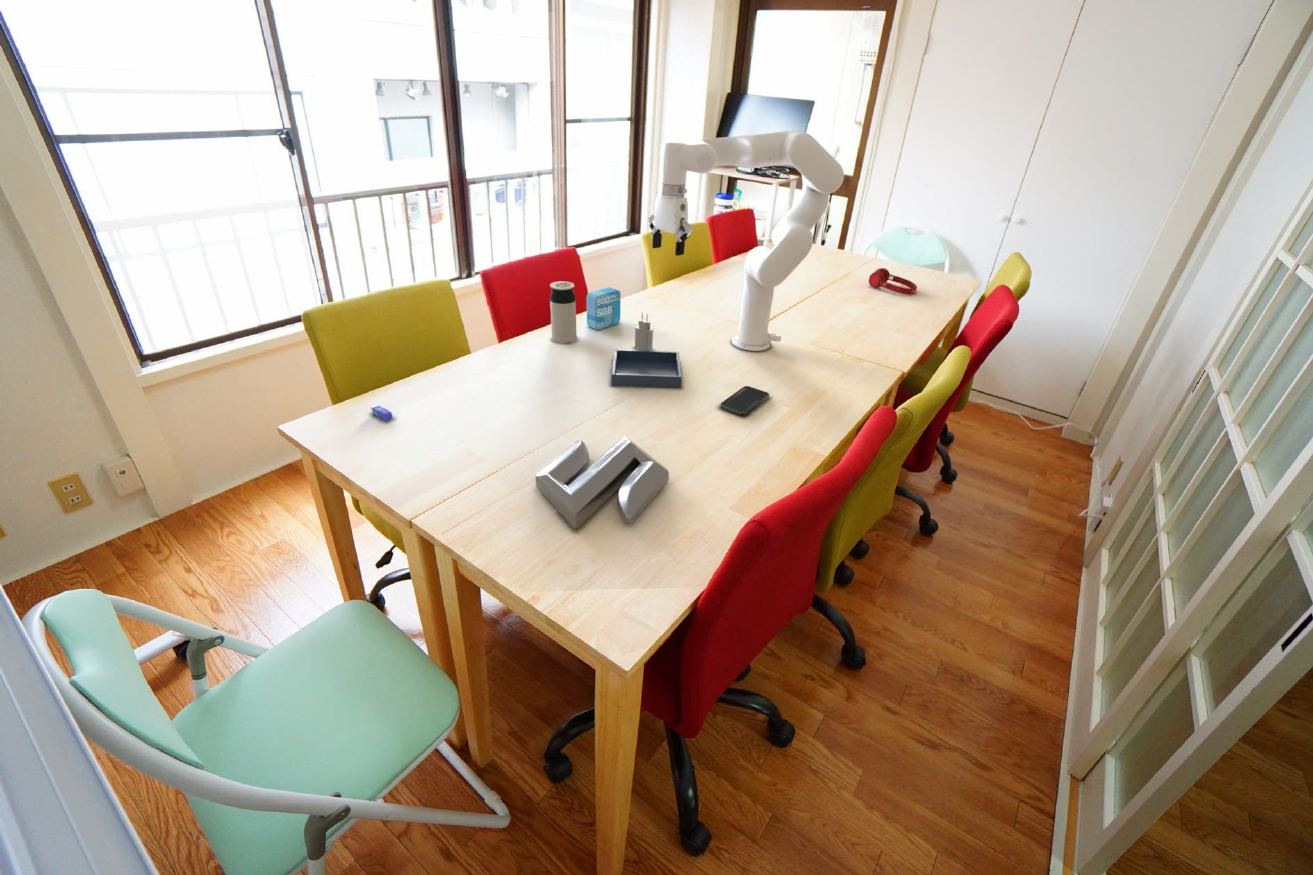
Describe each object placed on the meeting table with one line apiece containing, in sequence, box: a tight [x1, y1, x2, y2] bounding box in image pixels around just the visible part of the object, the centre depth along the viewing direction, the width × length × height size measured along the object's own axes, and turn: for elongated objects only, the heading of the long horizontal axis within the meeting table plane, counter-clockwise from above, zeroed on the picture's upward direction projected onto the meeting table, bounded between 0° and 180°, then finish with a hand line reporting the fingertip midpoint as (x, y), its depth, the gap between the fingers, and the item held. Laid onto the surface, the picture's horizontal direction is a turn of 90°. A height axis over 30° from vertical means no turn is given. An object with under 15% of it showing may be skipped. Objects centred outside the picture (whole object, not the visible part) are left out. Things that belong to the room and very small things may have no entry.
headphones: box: [868, 267, 918, 295], centre depth 255 cm, size 15×7×20 cm
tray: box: [610, 348, 683, 389], centre depth 169 cm, size 20×18×4 cm
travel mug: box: [549, 280, 577, 344], centre depth 185 cm, size 8×8×18 cm
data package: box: [586, 286, 621, 331], centre depth 199 cm, size 12×4×12 cm, turn 138°
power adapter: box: [634, 312, 654, 351], centre depth 182 cm, size 3×5×12 cm, turn 55°
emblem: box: [535, 436, 670, 530], centre depth 121 cm, size 28×5×28 cm
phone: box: [720, 385, 770, 417], centre depth 157 cm, size 8×1×15 cm
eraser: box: [370, 404, 393, 422], centre depth 142 cm, size 2×6×2 cm, turn 53°
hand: (667, 251), depth 173 cm, fingers open, 9 cm apart
